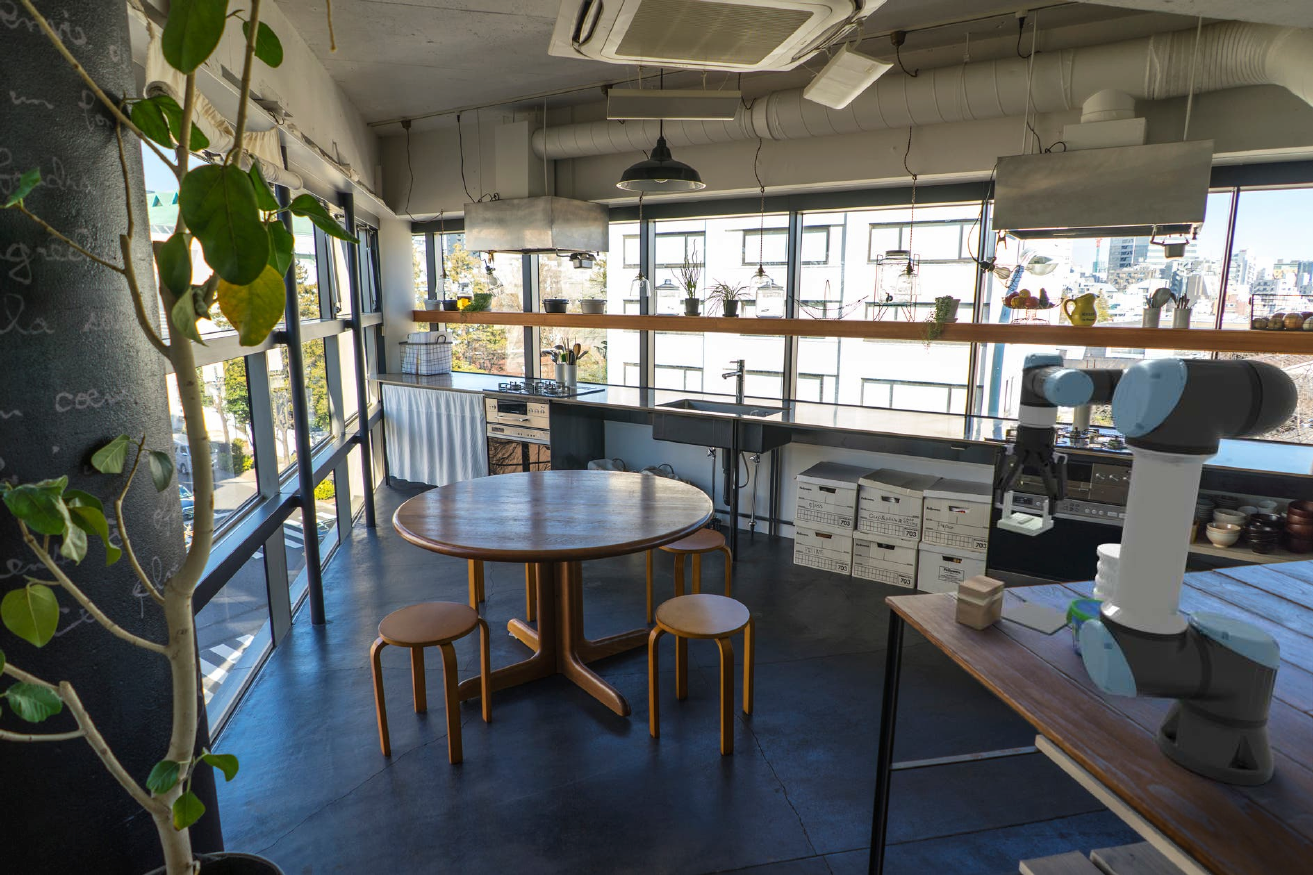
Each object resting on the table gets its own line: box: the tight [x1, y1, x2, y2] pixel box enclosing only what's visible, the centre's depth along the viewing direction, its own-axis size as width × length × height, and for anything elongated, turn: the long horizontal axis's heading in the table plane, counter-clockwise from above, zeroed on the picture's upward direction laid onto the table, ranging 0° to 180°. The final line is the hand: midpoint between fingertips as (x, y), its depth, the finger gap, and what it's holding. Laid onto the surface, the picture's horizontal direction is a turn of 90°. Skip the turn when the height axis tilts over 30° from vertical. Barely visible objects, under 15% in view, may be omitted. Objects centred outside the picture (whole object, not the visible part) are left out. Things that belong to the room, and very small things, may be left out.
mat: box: [1001, 600, 1069, 636], centre depth 167 cm, size 13×11×1 cm
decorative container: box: [1093, 543, 1121, 601], centre depth 160 cm, size 12×12×18 cm
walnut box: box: [954, 574, 1005, 631], centre depth 165 cm, size 9×6×9 cm
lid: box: [996, 512, 1055, 537], centre depth 162 cm, size 10×8×2 cm
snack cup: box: [1066, 598, 1105, 656], centre depth 149 cm, size 16×10×10 cm
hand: (1025, 523), depth 162 cm, fingers closed on lid, 8 cm apart
